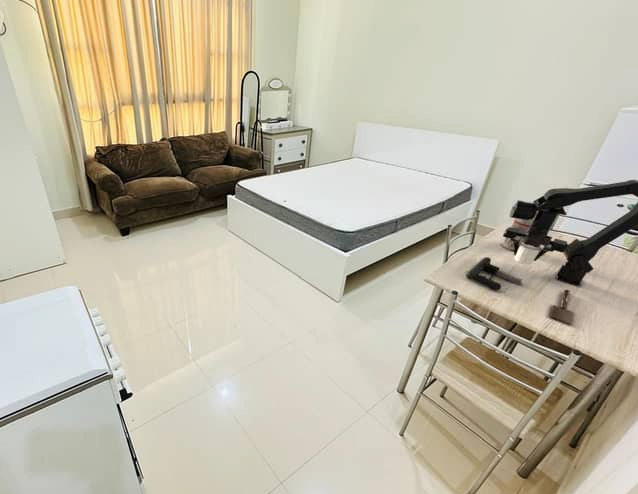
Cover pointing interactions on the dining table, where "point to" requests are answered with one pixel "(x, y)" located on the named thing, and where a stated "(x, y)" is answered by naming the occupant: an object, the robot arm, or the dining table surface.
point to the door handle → (490, 269)
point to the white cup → (526, 253)
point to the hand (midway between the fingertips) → (524, 257)
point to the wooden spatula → (562, 310)
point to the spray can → (523, 227)
